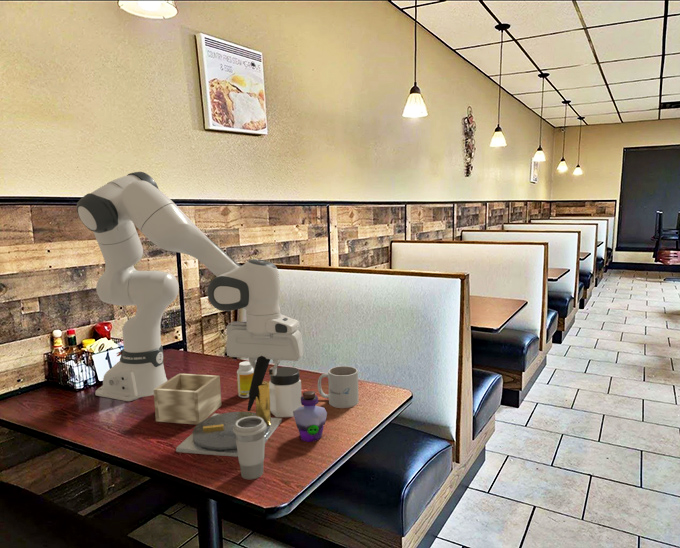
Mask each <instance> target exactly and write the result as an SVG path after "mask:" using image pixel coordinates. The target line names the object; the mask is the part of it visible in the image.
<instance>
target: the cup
mask: <svg viewBox="0 0 680 548" xmlns="http://www.w3.org/2000/svg"><path fill="white" fill-rule="evenodd" d="M266 427H267V425H266V423H265V422H264V420H263V419H262V418H261V417H257V416H249V417H244V418H241V419H239V420H238V421H236V423H235V426H234V428H233V432H234V433H235V434H236V445H237V453H238V457H237V458H238V463H239V467H240V475H241V478H243V479H245V480H255V479H258V478H260V477H262V475H264V461H265V445H266V443H265V433H264V430H265V429H266Z"/></svg>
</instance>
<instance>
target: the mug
mask: <svg viewBox="0 0 680 548" xmlns="http://www.w3.org/2000/svg"><path fill="white" fill-rule="evenodd" d="M323 378H327V379H328V394H327V393H325V392H324V391H323V389H322V380H323ZM317 391H318V393H319V394H320V396H321V397H323V398H324V399H328V404H329V405H330V406H331V407H334V408H339V409H347V408H352V407H355V406H357V405H358V404H359V370H358V368H356V367H354V366H349V365H339V366H338V365H337V366H334V367H331V368H329V369H328V371H327V373H322V374H321V375H319V378H318V380H317Z"/></svg>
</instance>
